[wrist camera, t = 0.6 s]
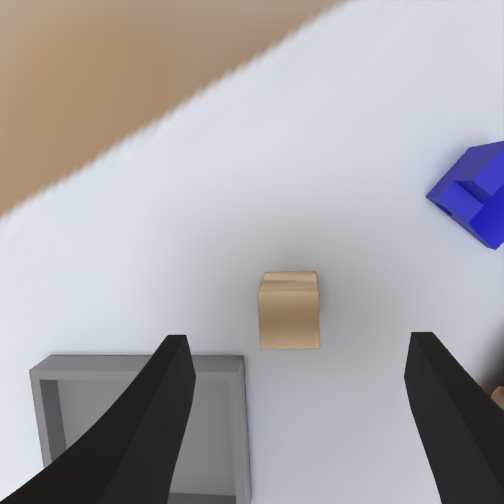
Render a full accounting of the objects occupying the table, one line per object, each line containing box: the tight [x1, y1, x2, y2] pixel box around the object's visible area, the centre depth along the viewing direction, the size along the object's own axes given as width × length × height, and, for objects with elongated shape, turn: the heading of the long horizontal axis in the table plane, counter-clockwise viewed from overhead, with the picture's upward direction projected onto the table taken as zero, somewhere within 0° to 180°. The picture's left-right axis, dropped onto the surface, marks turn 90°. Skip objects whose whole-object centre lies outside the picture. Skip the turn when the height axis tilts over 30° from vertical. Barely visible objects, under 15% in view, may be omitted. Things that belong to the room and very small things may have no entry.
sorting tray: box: [29, 355, 252, 504], centre depth 35 cm, size 14×18×3 cm
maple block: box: [258, 271, 320, 349], centre depth 30 cm, size 4×4×6 cm
